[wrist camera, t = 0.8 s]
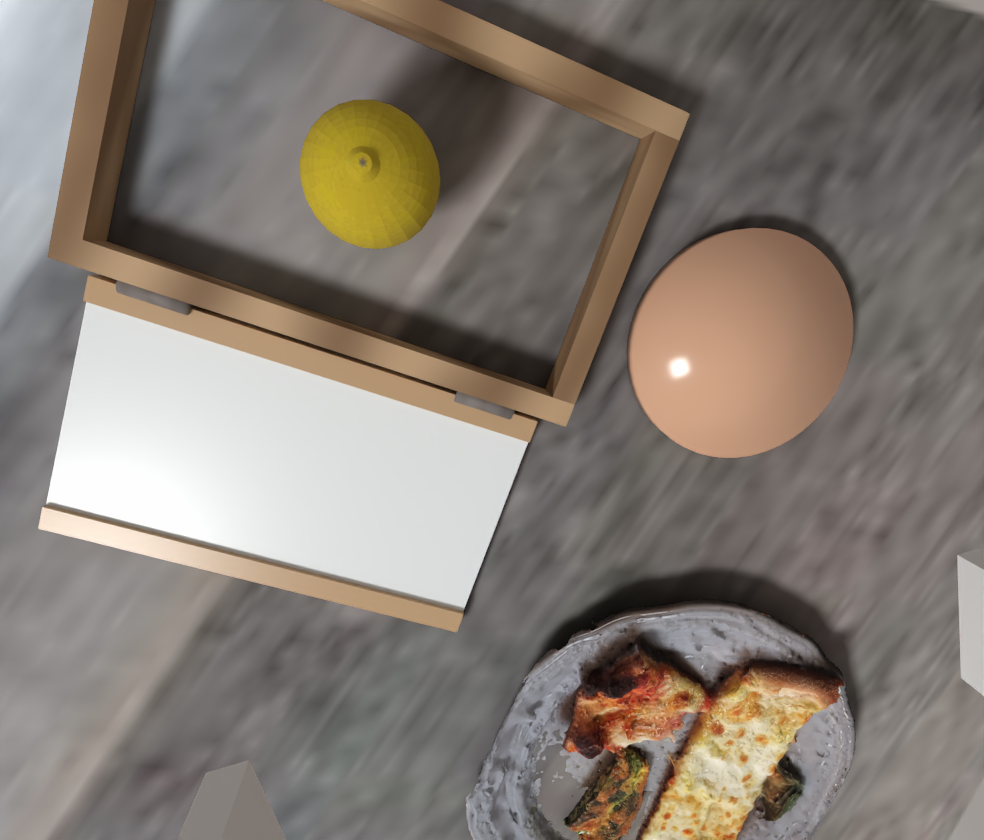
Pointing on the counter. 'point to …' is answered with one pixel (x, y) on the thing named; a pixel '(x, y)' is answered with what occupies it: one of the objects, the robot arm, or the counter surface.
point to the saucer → (740, 342)
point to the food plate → (675, 730)
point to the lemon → (370, 174)
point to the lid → (277, 461)
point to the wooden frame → (83, 243)
